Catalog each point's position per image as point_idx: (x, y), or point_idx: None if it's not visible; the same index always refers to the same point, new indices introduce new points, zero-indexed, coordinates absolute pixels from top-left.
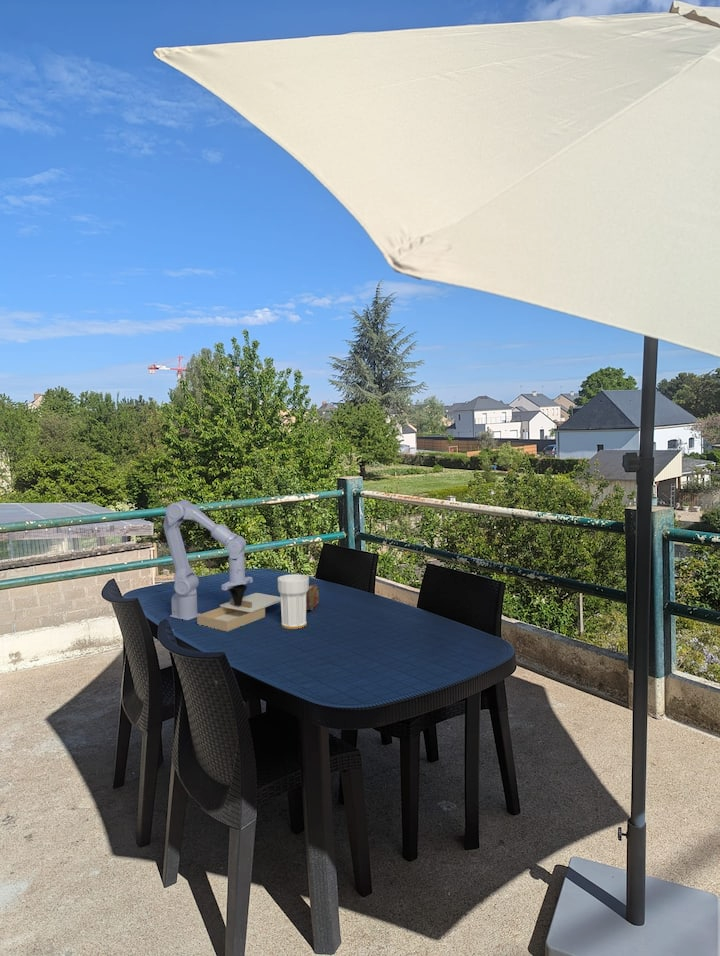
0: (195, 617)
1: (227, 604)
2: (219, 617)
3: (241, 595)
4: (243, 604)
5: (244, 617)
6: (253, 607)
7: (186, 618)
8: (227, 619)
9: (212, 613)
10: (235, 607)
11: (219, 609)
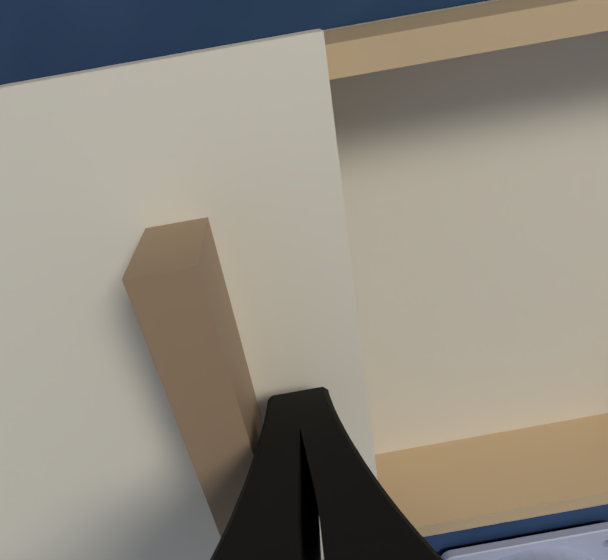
0: (525, 537)
1: (321, 547)
2: (421, 427)
3: (295, 536)
4: (243, 375)
5: (470, 16)
6: (129, 200)
7: (599, 546)
8: (425, 328)
9: (514, 479)
10: (347, 402)
11: (413, 513)
